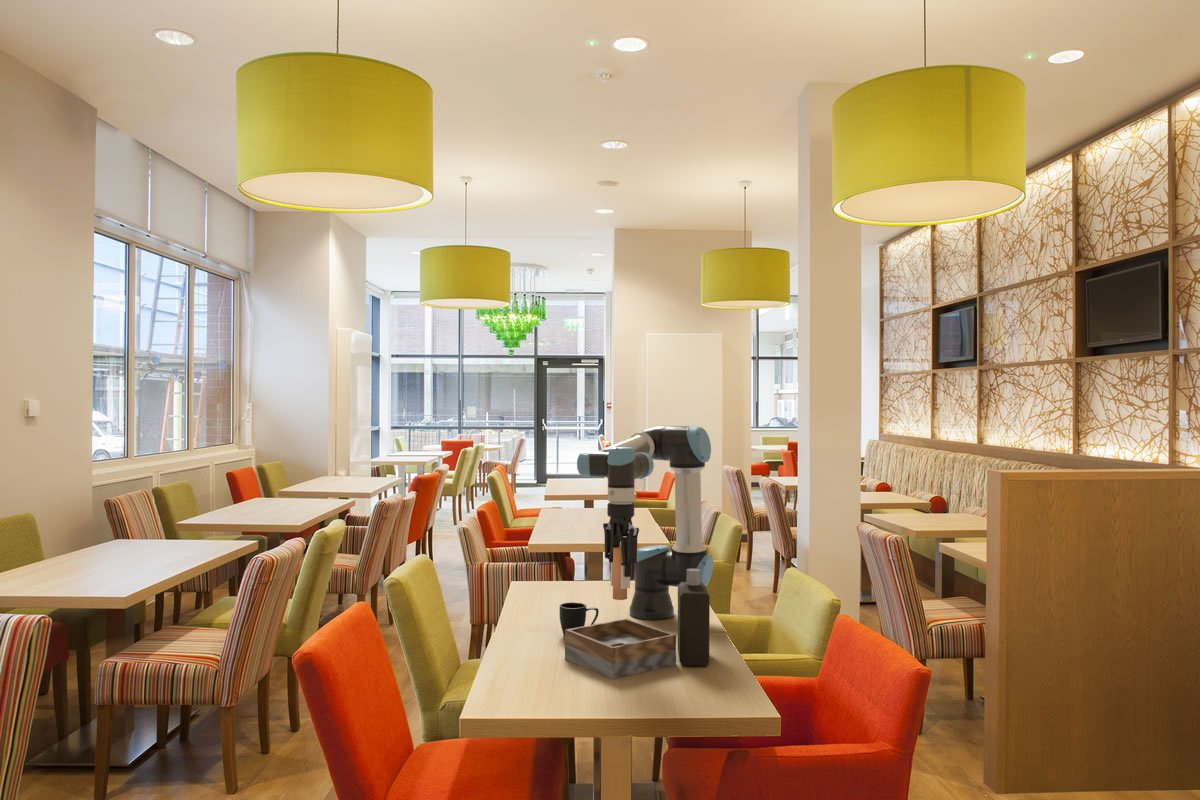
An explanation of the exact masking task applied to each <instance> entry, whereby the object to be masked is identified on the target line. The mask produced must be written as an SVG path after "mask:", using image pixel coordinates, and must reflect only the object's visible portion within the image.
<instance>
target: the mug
mask: <svg viewBox="0 0 1200 800" xmlns="http://www.w3.org/2000/svg"><path fill="white" fill-rule="evenodd" d="M592 610H593V611H595V615H594V618H593V620H592V622H591V623H590V625H593V624H595V622H596V621H597V619H598V617H599V612H600V611H599V608H598V607H587V604H585V603H582V602H573V601H572V602H570V601H569V602H565V603H561V604H559V622H560V627H561V631H562V634H563V638H565V630H566V629H572V628H577V627H582V626H586V620H587V612H588V611H592Z"/></svg>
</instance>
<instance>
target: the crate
mask: <svg viewBox="0 0 1200 800" xmlns="http://www.w3.org/2000/svg"><path fill="white" fill-rule="evenodd" d="M564 659H566V660H568V661H570V662H572V663H574V664H577V665H579V666H581V667H583V668H586V669H588V670H590V671H593V672H595V673H597V674H599V675H602V676H605V678H609V679H611V680H616V679H619V678H625V677H627V676H632V675H637V674H641V673H644V672H649V671H653V670H657V669H660V668H665V667H669V666H674V665H676V664H677V634H674V633H672V632H668V631H665V630H663V629H660V628H657V627H653V626H650V625H648V624H645V623H641V622H638V621H635V620H632V619H630V618H627V617H626V618H622V619H615V620H611V621H605V622H598V623H594V624H593V625H591V624H589V625H584V626H582V627H577V628H572V629H566V630H565V637H564Z"/></svg>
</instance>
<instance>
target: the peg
mask: <svg viewBox="0 0 1200 800" xmlns="http://www.w3.org/2000/svg"><path fill="white" fill-rule="evenodd" d="M621 563H623V559H622V550H621V546H620V547H613V586H612V599H613V600H617V601H625V600H628V588H626V589H621Z"/></svg>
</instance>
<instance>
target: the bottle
mask: <svg viewBox="0 0 1200 800" xmlns="http://www.w3.org/2000/svg"><path fill="white" fill-rule="evenodd" d="M710 602H711V601H710V595H709V592H708V589H707V586H705V585H704V584H703V583H702V582H700V569H687V582H681V583H680V584H679V585H678V587H677V653H678V659H679V663H680V664H681V666H682V667H683V668H684V667H685V668H707V666H708V665H709V664H710V616H711V615H710V614H711V613H710V612H711V611H710V605H711V603H710Z"/></svg>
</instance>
